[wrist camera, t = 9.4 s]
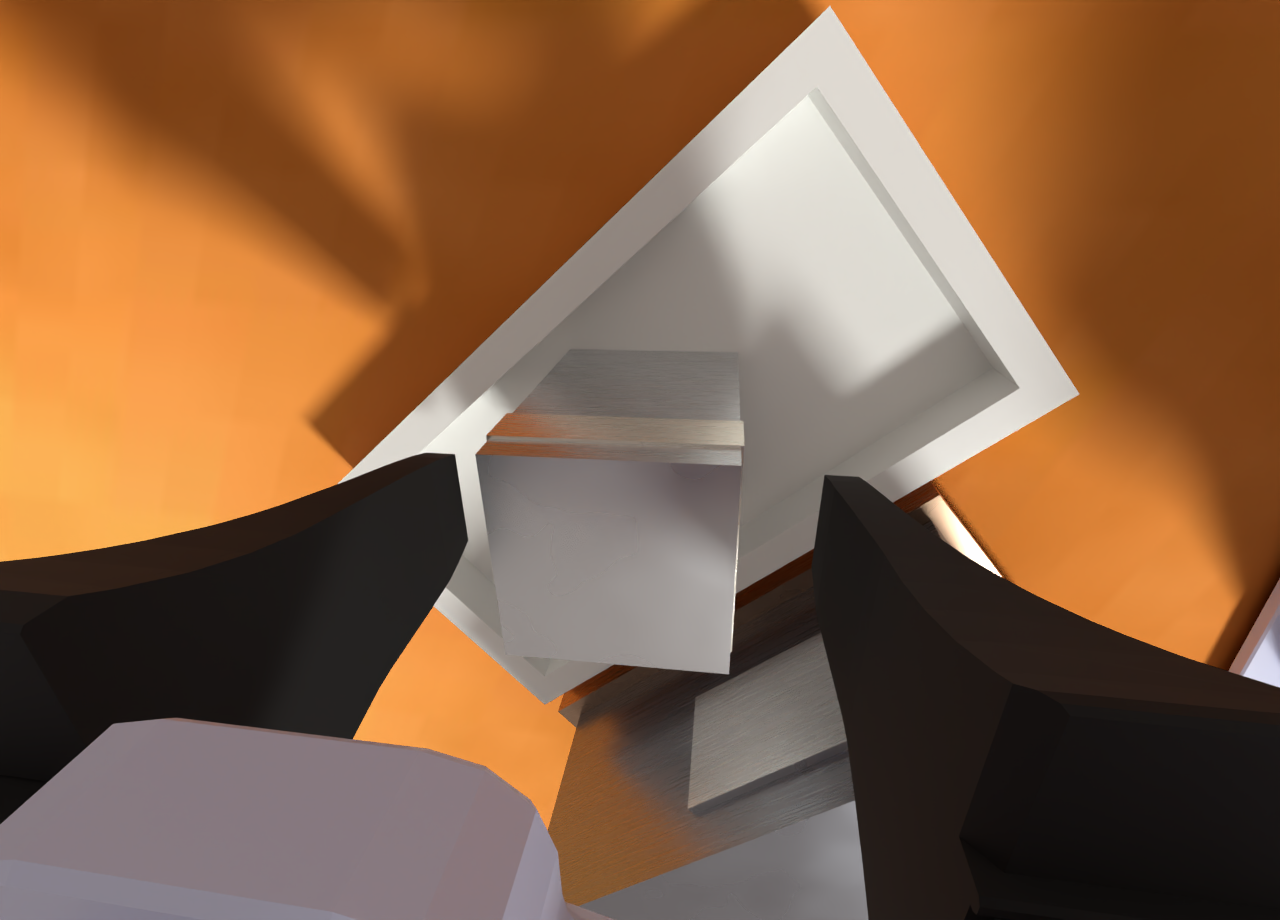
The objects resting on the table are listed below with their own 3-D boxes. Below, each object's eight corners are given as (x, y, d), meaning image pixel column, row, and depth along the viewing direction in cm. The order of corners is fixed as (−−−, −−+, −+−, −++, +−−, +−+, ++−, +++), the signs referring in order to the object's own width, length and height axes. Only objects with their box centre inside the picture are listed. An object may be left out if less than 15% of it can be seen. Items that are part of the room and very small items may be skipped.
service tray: (816, 28, 11) (829, 5, 10) (1038, 367, 14) (1079, 394, 12) (356, 472, 17) (318, 503, 16) (560, 660, 20) (544, 704, 18)
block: (740, 349, 14) (745, 462, 9) (731, 504, 16) (731, 676, 10) (567, 347, 14) (471, 451, 9) (578, 496, 16) (503, 656, 11)
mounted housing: (927, 475, 15) (1065, 693, 9) (1027, 606, 16) (1209, 878, 10) (566, 687, 20) (490, 922, 14) (662, 775, 21) (634, 1027, 15)
